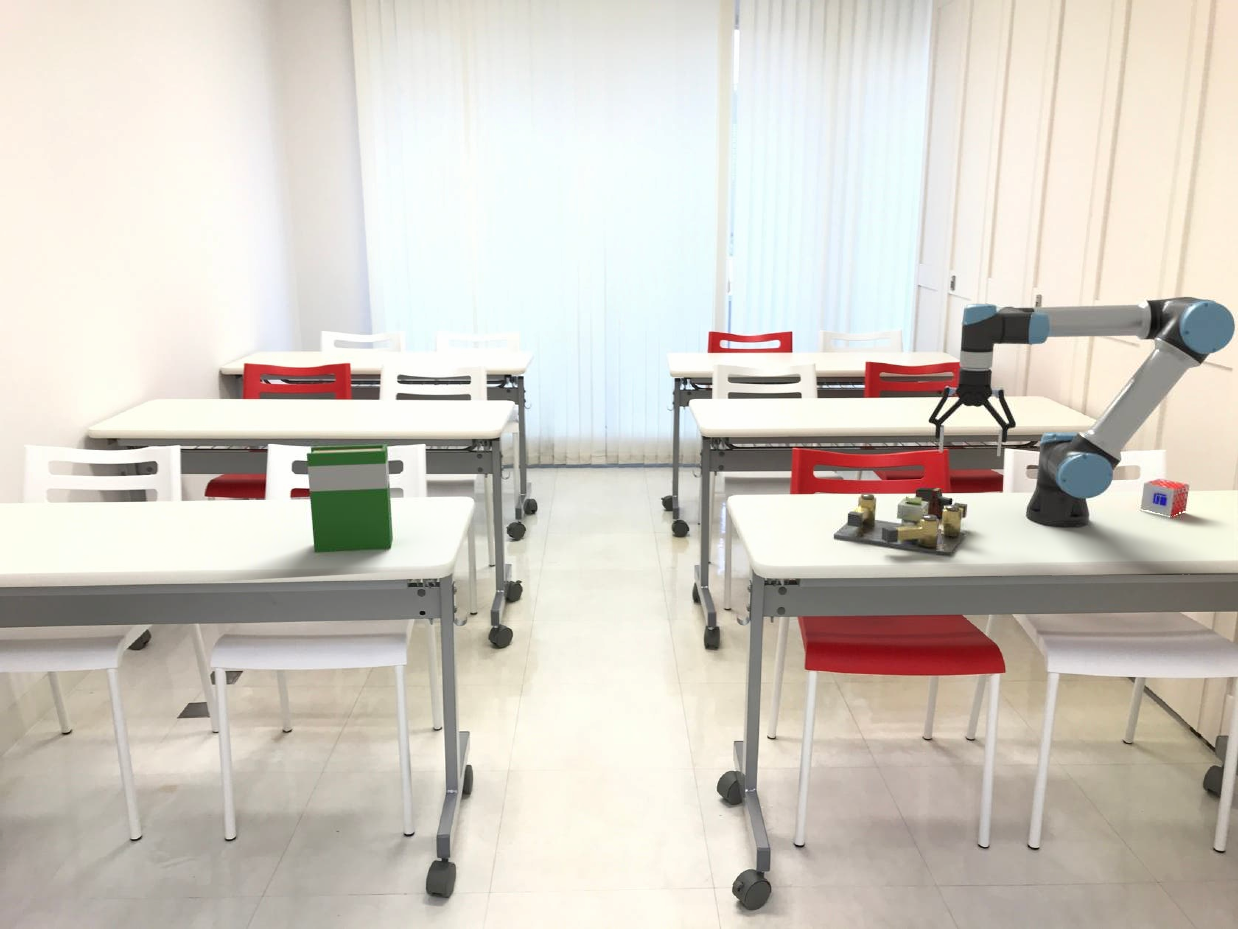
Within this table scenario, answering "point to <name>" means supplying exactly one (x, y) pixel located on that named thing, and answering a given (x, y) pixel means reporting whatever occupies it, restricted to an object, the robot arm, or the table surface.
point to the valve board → (910, 515)
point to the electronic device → (934, 500)
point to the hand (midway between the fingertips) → (969, 453)
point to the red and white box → (1165, 497)
